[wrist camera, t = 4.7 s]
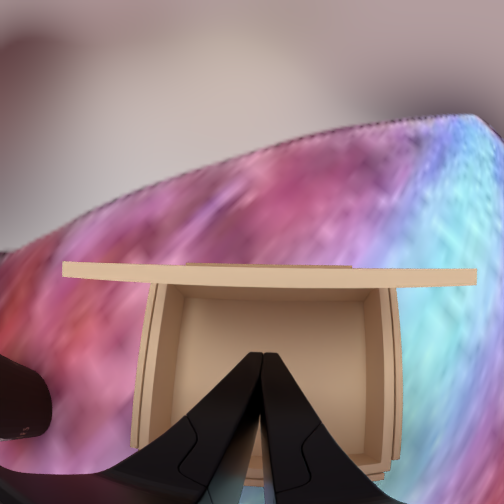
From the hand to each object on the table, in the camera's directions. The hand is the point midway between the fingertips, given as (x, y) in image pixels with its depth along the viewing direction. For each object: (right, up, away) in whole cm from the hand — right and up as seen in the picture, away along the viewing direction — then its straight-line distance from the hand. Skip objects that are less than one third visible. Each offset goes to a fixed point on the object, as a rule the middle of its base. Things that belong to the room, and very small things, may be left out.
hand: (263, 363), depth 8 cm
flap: (+1, +2, +9) cm, 9 cm away
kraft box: (+1, -5, +10) cm, 11 cm away
